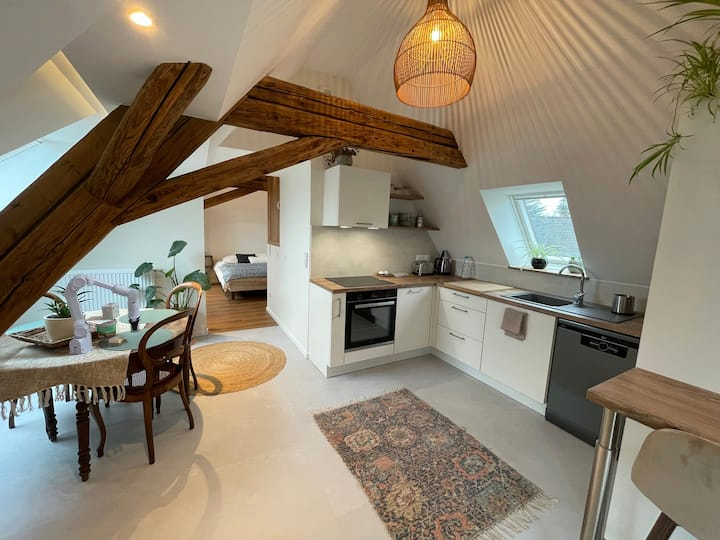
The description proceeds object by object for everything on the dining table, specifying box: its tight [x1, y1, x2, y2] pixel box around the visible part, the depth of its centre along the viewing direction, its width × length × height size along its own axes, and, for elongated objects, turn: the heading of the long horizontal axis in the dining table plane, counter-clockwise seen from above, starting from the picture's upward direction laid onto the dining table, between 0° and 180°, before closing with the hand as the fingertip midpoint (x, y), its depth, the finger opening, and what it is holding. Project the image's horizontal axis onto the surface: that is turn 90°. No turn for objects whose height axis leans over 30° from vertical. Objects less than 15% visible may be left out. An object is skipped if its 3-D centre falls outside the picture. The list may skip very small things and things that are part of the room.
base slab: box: [107, 338, 128, 347], centre depth 182 cm, size 6×6×2 cm
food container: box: [95, 318, 118, 340], centre depth 192 cm, size 12×6×10 cm, turn 168°
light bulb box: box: [101, 302, 121, 321], centre depth 226 cm, size 11×7×11 cm, turn 17°
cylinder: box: [129, 323, 141, 334], centre depth 186 cm, size 4×4×4 cm
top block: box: [108, 335, 126, 343], centre depth 181 cm, size 6×6×2 cm
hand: (135, 329), depth 186 cm, fingers closed on cylinder, 4 cm apart
